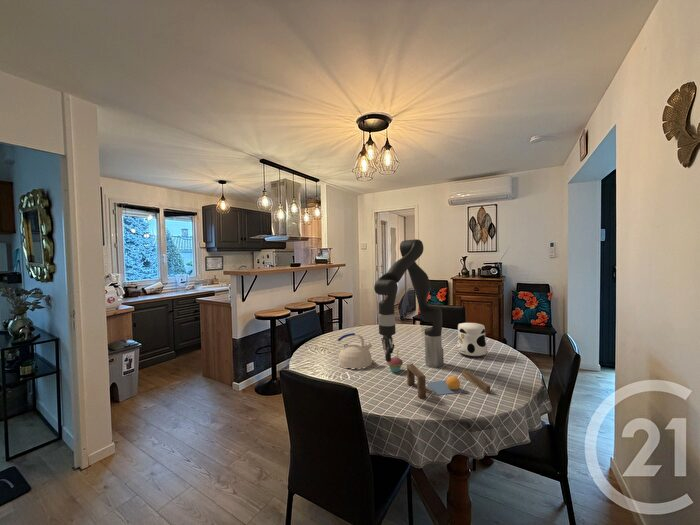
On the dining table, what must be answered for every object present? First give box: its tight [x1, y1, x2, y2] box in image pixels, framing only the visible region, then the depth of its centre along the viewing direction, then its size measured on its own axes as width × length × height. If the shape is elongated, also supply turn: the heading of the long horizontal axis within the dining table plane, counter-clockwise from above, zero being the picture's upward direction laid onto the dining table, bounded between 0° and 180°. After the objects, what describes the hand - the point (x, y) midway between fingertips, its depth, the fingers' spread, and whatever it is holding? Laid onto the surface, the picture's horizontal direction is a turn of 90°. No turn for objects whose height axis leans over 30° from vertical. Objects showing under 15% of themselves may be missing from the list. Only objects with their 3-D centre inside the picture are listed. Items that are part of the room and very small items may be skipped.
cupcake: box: [386, 349, 404, 373], centre depth 161 cm, size 9×8×12 cm
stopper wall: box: [461, 369, 491, 394], centre depth 142 cm, size 2×20×3 cm, turn 9°
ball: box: [446, 375, 461, 390], centre depth 137 cm, size 6×6×6 cm
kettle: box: [337, 332, 373, 369], centre depth 175 cm, size 20×21×18 cm
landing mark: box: [426, 379, 465, 396], centre depth 139 cm, size 13×13×1 cm
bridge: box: [406, 363, 427, 399], centre depth 137 cm, size 3×15×10 cm, turn 10°
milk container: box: [456, 322, 488, 358], centre depth 183 cm, size 17×17×18 cm
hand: (388, 361), depth 135 cm, fingers closed
